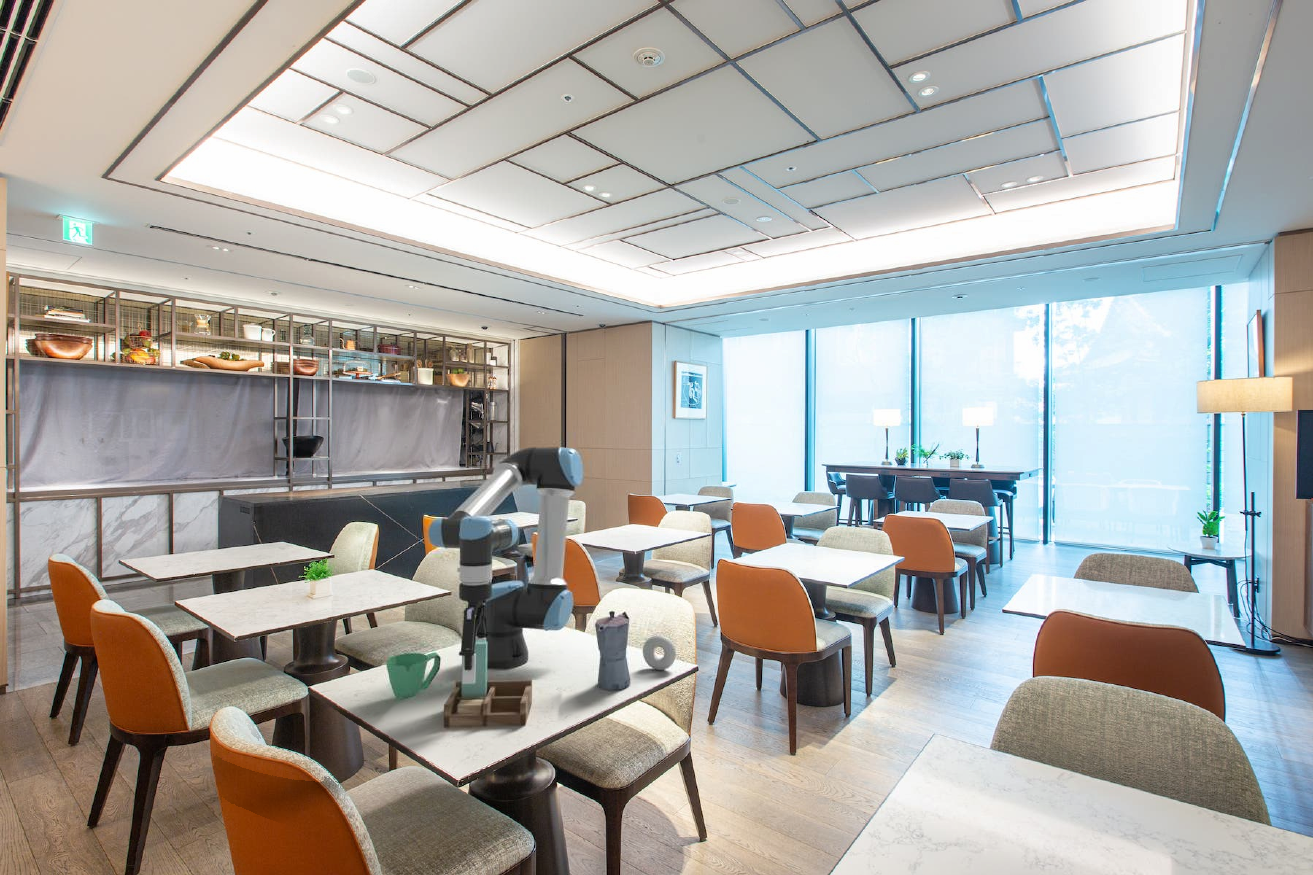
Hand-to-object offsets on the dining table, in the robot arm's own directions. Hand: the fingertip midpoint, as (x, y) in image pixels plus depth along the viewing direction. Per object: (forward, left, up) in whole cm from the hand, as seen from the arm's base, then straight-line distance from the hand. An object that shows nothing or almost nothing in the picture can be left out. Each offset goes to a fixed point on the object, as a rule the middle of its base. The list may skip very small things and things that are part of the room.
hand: (474, 673), depth 152 cm
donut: (-30, +46, -10) cm, 56 cm away
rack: (+3, +4, -10) cm, 11 cm away
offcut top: (+5, 0, -7) cm, 9 cm away
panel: (0, 0, -9) cm, 9 cm away
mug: (-14, -18, -10) cm, 25 cm away
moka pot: (-20, +33, -10) cm, 40 cm away
